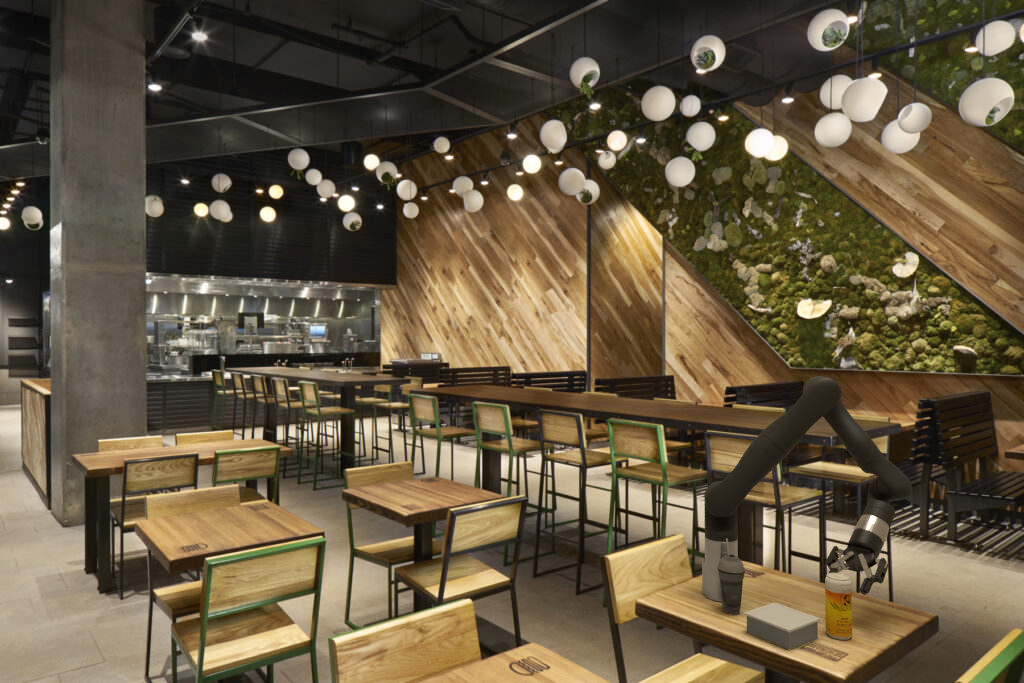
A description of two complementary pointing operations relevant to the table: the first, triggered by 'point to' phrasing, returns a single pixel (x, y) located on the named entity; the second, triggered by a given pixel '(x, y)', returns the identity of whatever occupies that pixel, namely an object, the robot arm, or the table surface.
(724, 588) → the beverage cup
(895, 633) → the table surface
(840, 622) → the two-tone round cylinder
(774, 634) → the grey square box
